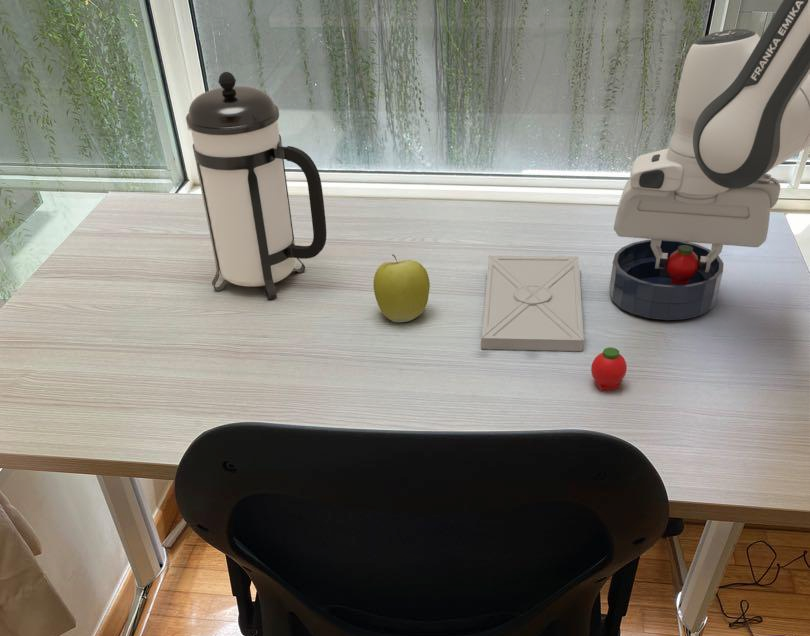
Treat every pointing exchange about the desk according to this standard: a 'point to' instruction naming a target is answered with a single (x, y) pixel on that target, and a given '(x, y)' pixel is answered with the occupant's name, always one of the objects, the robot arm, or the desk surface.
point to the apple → (401, 289)
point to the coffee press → (250, 186)
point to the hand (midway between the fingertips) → (681, 269)
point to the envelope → (533, 304)
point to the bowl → (662, 283)
